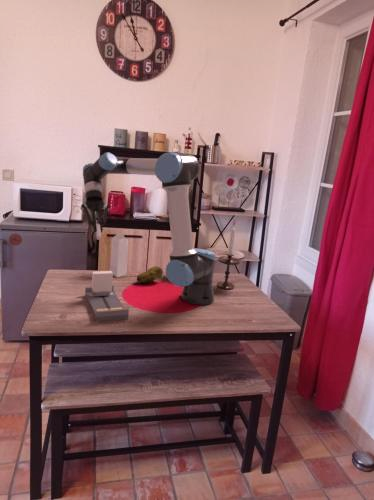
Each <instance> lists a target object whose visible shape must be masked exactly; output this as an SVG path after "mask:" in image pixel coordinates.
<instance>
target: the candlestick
mask: <svg viewBox="0 0 374 500" xmlns="http://www.w3.org/2000/svg"><path fill="white" fill-rule="evenodd" d="M233 220H234V221H233V223H232V224H233V226H232V227H231V230H230V239H229V245H228V251H227V253H226V254H225V255H226V256H219V257H218V258H217V261H218V262H219V263H221V264H224V265H226V270H225V271H224V274H225V276H224V277H223V278H224V281H219V282H216V287H217V288H219V289H220V290H225V291H226V290H228V291H231V290H234V289H235V284H233V283H232V282H228V281H229V278H230V276H229V275H230V274H231V272H230V267H231V266H236V265H237V266H238V265H239V264H240V263H241V260H240V259H238V258H236V257H233V256H235V255H234V254H233V247H234V241H235V233H236V227H235V225H236V220H235V219H233Z"/></svg>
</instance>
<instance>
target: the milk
mask: <svg viewBox="0 0 374 500" xmlns="http://www.w3.org/2000/svg"><path fill="white" fill-rule="evenodd" d="M128 251H129V239H128V238H127V237H125V234H124V233H121V232H119V231H116V234H115V235H114V236H113V237H112V238H111V249H110V267H109V271H112V273H113V277H116V278H119V277H123V276H126V275H127V267H128V256H129V255H128V254H129V252H128Z"/></svg>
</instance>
